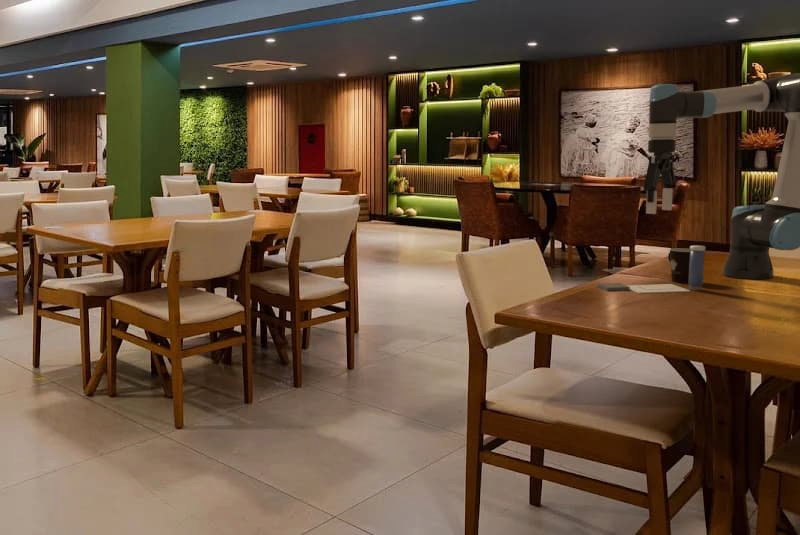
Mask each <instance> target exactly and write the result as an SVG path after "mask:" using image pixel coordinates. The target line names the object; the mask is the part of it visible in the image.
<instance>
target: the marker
mask: <svg viewBox="0 0 800 535" xmlns="http://www.w3.org/2000/svg"><path fill="white" fill-rule="evenodd" d="M689 249H690V263H689V281H688V283H687V284H688V290H690V291H693V292H701V291H702V288H703V287H702V286H703V285H704V268H705V254H706V253H705V252H706V246H705V245H698V244H697V245H695V244H693V245H690V246H689Z"/></svg>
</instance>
